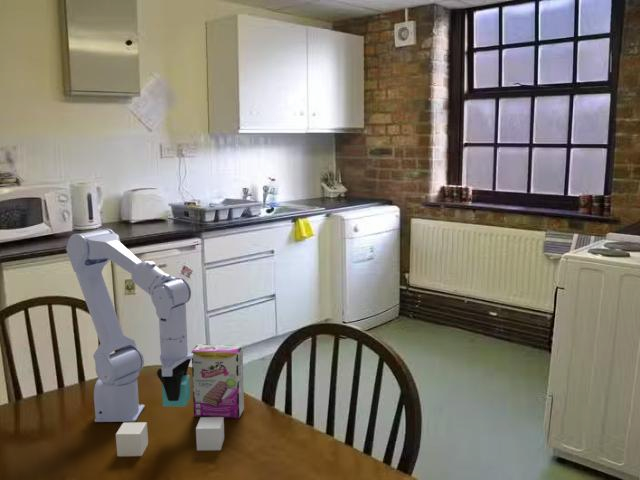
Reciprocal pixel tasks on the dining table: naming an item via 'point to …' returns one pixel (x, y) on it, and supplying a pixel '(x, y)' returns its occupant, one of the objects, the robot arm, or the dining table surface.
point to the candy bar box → (218, 381)
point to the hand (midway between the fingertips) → (176, 394)
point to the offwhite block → (132, 439)
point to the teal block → (184, 393)
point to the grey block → (210, 433)
